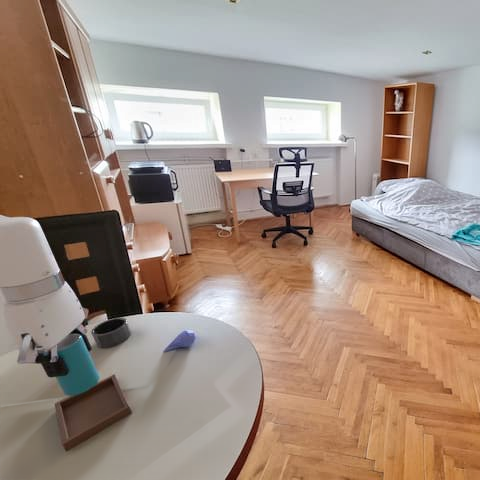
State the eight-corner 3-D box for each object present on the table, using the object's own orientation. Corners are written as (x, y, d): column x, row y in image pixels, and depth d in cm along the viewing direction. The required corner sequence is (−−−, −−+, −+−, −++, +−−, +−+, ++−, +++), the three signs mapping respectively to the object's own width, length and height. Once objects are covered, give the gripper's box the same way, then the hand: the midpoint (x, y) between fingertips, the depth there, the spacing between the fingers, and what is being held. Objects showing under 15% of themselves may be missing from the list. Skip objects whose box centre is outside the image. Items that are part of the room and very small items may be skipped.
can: (56, 397, 57) (33, 354, 53) (77, 375, 63) (57, 334, 58) (88, 393, 58) (67, 350, 54) (105, 372, 63) (88, 331, 59)
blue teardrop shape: (204, 337, 85) (191, 328, 87) (191, 331, 80) (178, 322, 83) (184, 363, 81) (171, 353, 84) (170, 358, 77) (156, 348, 79)
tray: (57, 409, 64) (54, 403, 63) (117, 380, 71) (114, 374, 70) (66, 451, 55) (62, 444, 55) (132, 412, 63) (129, 406, 62)
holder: (90, 351, 80) (83, 337, 79) (108, 332, 88) (103, 319, 86) (121, 347, 82) (116, 333, 80) (137, 329, 89) (132, 316, 87)
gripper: (50, 266, 59) (81, 336, 66) (-45, 316, 43) (9, 402, 50) (91, 263, 60) (118, 333, 67) (13, 311, 44) (59, 396, 51)
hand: (71, 362), depth 58 cm, fingers closed on can, 5 cm apart
